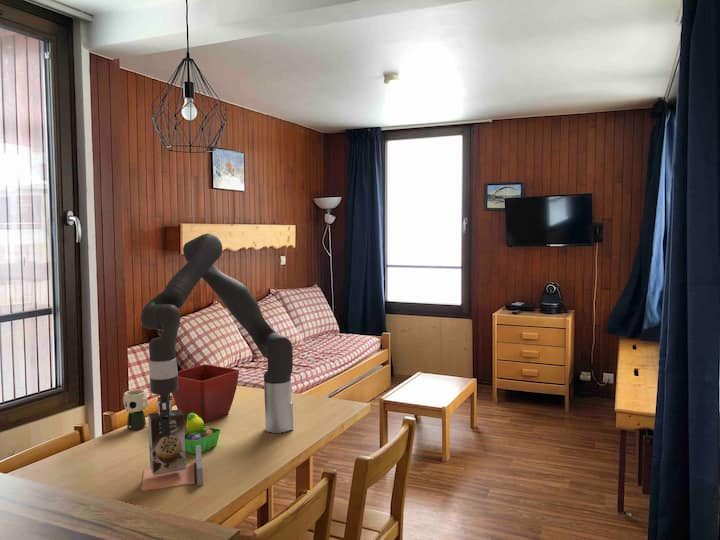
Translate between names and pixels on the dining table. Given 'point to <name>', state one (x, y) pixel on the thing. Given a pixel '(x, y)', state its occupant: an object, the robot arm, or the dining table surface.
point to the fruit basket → (199, 434)
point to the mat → (168, 478)
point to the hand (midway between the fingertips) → (166, 431)
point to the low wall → (199, 465)
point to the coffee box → (167, 444)
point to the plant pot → (206, 391)
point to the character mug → (135, 408)
